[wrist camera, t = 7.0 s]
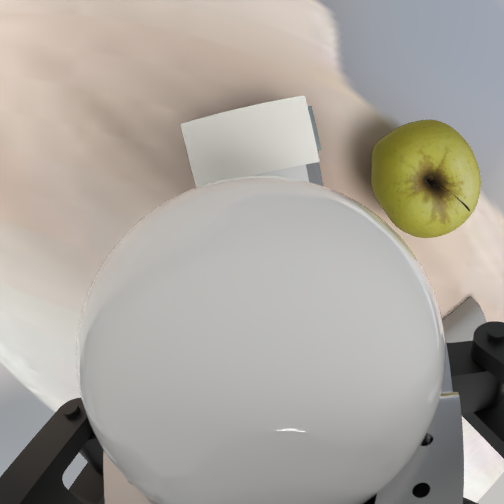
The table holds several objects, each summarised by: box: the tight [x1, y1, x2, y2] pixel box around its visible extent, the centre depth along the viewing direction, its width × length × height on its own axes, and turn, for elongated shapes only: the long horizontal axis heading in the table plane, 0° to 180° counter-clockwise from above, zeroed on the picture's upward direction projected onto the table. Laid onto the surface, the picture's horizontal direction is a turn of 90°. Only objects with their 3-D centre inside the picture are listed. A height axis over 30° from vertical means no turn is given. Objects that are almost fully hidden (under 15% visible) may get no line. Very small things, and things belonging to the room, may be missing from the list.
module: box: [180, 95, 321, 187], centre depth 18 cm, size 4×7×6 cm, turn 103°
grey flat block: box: [442, 297, 487, 416], centre depth 28 cm, size 10×4×15 cm
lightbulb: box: [76, 176, 446, 504], centre depth 8 cm, size 6×6×11 cm
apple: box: [371, 120, 481, 238], centre depth 19 cm, size 8×8×10 cm
